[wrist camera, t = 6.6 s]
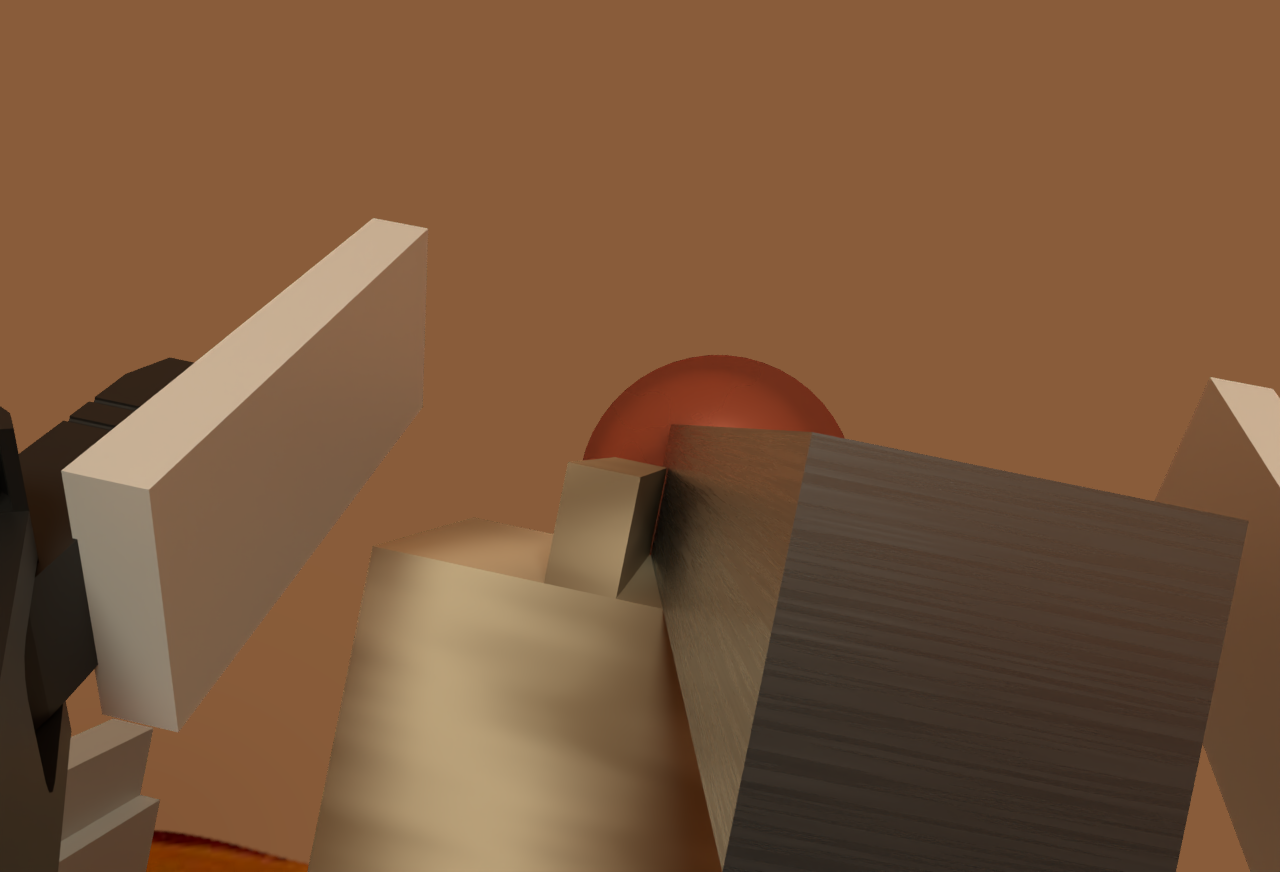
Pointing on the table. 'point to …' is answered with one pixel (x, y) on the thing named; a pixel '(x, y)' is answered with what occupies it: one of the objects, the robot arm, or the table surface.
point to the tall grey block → (107, 801)
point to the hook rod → (920, 640)
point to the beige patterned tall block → (518, 700)
